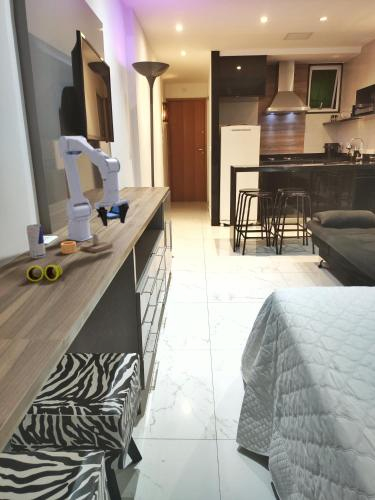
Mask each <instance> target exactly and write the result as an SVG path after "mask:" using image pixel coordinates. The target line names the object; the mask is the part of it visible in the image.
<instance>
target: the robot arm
mask: <svg viewBox="0 0 375 500" xmlns="http://www.w3.org/2000/svg"><path fill="white" fill-rule="evenodd" d="M57 145H58V151H59V154H60V157H61V158H62V161H63V165H64V171H65V175H66V176H65V177H66V181H67V186H68V190H69V195H70V198H69V200H67V202H66V203H65V205H66V207H65V208H66V209H65V210H66V217H67V218H69V220H68V221H67V226H66V227H67V234H68V237H67V240H69V241H75V242H76V241H78V242H84V241H87V240H92V239H93V235H91V229H90V220H89V219H90V218H91V216H92V214H93V207H92V205H91V204H90V200H89V199H88V198H86V197H85V196H84V193H83V189H82V183H81V179H80V175H79V174H80V173H79V168H78V164H77V159H78V158H79V157H80V156H82V154H84V155H87V156H89V157H88V158H89V161H90V162H91V163H93V165H95V166H96V167H97V168H98V171H99V173H100V178H101V179H102V183H103V184H102V185H103V195H104V201H100V202H95V203H93V206H94V209H95V210H96V212H97V215H98V214H99V215H100V217H99V218H100V220H101V223H102V225H103V227H108V225H109V224H108V219H107V213H108V212H109V211H108V209H106V208H111V207H112V206H118V209H119V213H120V218H119V221H120V222H119V223H120V224H125V221H126V217H127V213H128V210H129V209H130V205H131V204H130V203H131V202H130V201H131V200H130V199H128V198H126V199H120V189H119V186H120V185H119V172H120V170H121V163H120V161H119V159H118V158H117V157H110V155H108V154H106V153H105V152H104V151H103V149H101V148H94V147H93V146H92V145H91V144H89V143H88V141H87V138H86V137H84V136H83V135H69V136H68V135H61V136H60V137H59V139H58V143H57Z"/></svg>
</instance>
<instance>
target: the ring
mask: <svg viewBox="0 0 375 500" xmlns="http://www.w3.org/2000/svg"><path fill="white" fill-rule="evenodd" d="M60 250H61V253H62V254H66V255H68V254H74V253H76V252H77V251H78V248H77V242H76V241H75V240H68V241H62V242H61V243H60Z"/></svg>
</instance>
